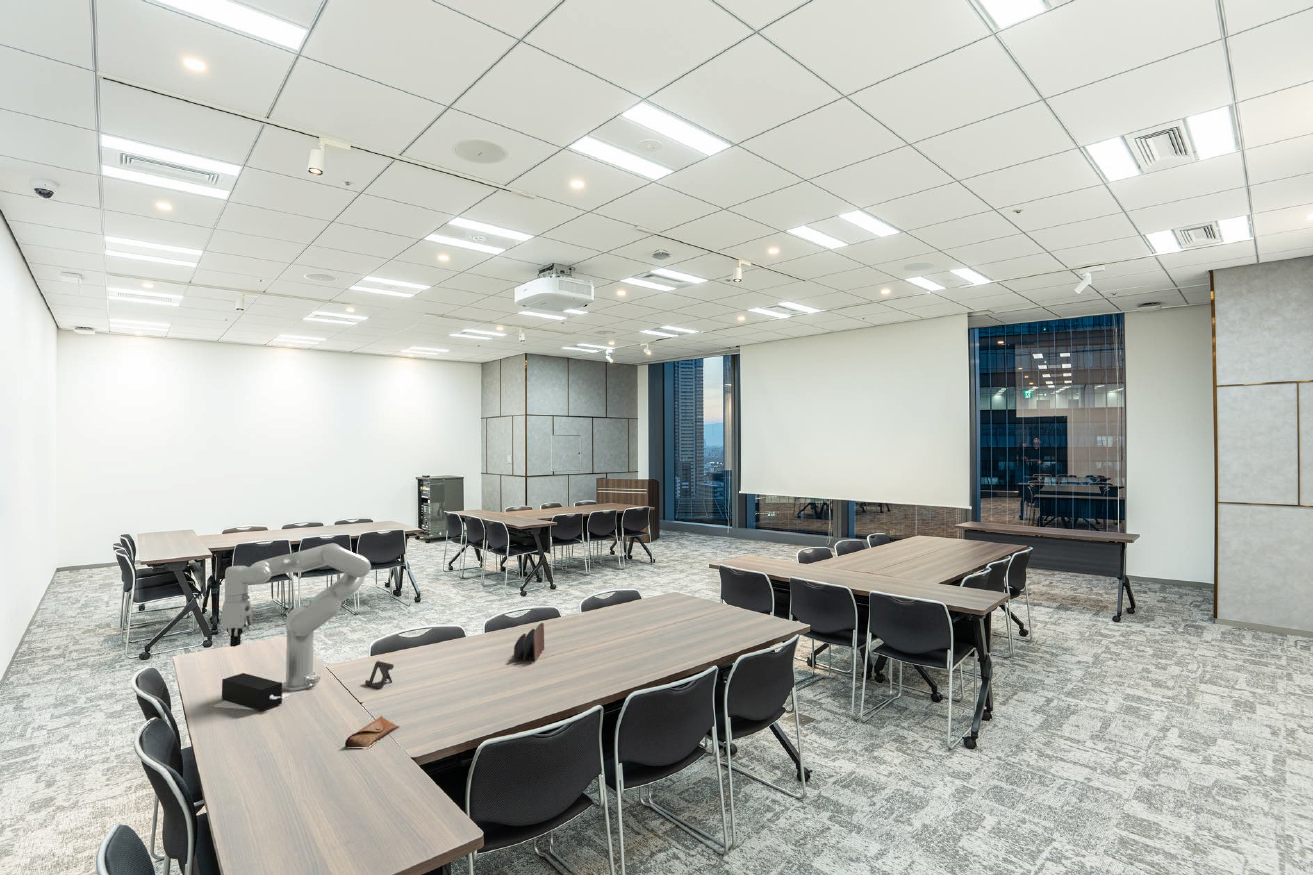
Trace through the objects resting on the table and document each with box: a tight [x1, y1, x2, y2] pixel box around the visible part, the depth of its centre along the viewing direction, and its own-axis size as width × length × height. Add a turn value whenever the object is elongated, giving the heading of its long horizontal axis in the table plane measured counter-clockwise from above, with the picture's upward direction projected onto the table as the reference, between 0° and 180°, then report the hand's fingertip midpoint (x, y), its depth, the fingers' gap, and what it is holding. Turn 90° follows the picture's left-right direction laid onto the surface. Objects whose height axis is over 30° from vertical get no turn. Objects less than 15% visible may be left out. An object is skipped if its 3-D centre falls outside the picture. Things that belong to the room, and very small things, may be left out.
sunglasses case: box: [344, 715, 401, 748], centre depth 206 cm, size 18×7×7 cm
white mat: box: [214, 693, 291, 710], centre depth 235 cm, size 20×14×1 cm
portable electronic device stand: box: [364, 660, 394, 690], centre depth 253 cm, size 9×8×8 cm
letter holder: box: [513, 622, 545, 663], centre depth 289 cm, size 10×20×14 cm, turn 178°
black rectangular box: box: [221, 672, 283, 712], centre depth 233 cm, size 8×8×28 cm
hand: (235, 645), depth 239 cm, fingers closed
